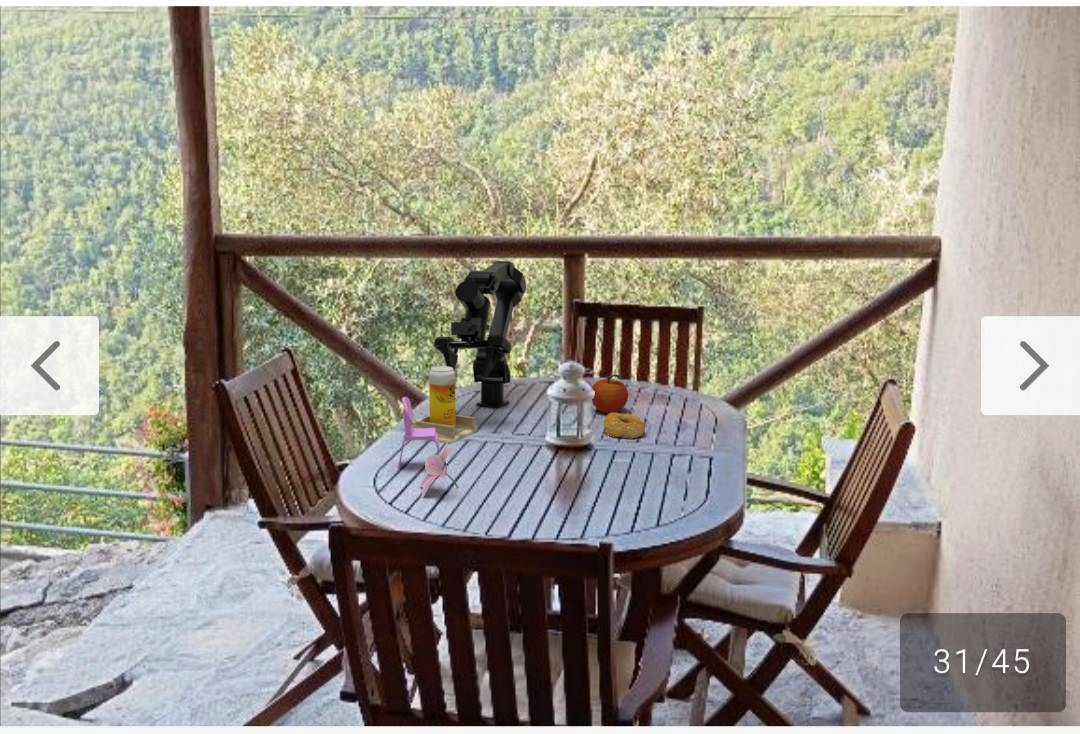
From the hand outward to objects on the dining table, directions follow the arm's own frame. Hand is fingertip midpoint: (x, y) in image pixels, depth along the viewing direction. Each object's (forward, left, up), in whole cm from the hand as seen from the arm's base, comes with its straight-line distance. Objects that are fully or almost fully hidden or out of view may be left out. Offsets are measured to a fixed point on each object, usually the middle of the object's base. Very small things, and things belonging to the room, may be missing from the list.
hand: (467, 377), depth 260 cm
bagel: (-12, +37, -12) cm, 40 cm away
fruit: (-29, +25, -12) cm, 40 cm away
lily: (+44, +21, -12) cm, 50 cm away
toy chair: (+32, +8, -12) cm, 35 cm away
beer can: (+9, -1, -11) cm, 14 cm away
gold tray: (+9, -1, -12) cm, 15 cm away
